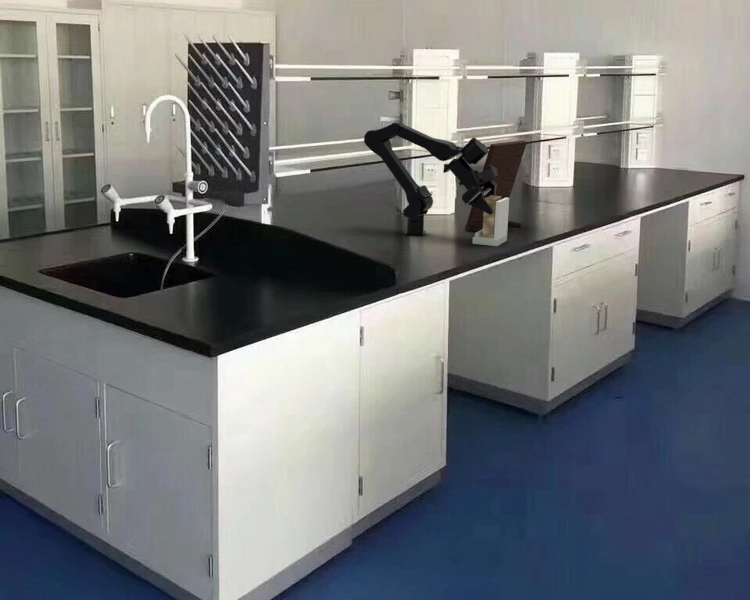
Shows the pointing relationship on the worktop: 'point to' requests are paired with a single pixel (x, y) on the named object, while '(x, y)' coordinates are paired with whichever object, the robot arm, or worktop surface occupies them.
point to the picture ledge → (496, 226)
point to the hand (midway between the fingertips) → (496, 211)
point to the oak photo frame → (490, 217)
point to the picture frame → (500, 176)
